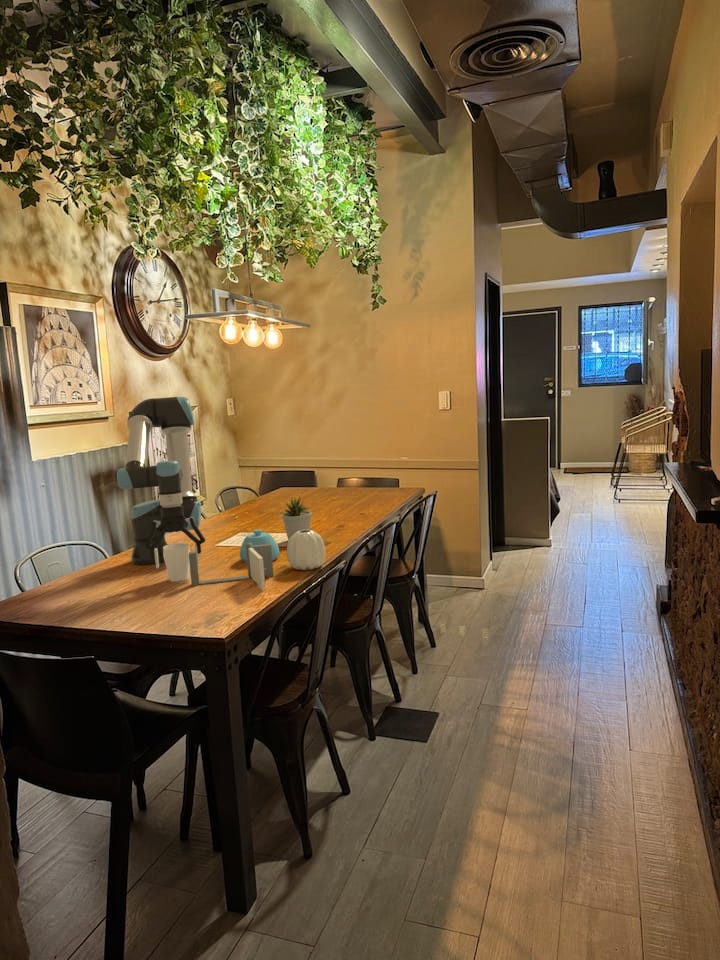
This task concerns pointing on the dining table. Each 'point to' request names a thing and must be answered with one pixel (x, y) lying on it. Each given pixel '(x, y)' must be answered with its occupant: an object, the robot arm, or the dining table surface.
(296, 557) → the vase
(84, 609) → the dining table surface
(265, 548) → the grey u-shaped bar
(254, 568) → the curved cream plank
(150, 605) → the dining table surface
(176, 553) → the cup
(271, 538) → the sugar bowl
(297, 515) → the potted plant
